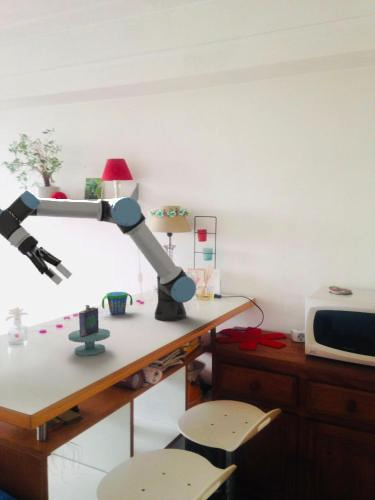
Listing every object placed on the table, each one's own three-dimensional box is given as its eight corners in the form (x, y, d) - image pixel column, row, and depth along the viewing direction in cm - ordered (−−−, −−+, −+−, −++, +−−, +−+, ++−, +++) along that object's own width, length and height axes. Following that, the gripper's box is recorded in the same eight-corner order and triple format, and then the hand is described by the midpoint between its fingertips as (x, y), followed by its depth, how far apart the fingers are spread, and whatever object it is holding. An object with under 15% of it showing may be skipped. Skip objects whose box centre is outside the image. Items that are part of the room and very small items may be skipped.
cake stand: (113, 344, 172) (113, 327, 172) (106, 357, 157) (105, 339, 157) (75, 344, 173) (74, 328, 172) (63, 357, 158) (63, 340, 157)
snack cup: (129, 309, 231) (129, 290, 230) (135, 313, 221) (135, 293, 220) (100, 312, 224) (99, 293, 223) (104, 317, 215) (103, 296, 214)
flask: (83, 337, 160) (82, 308, 159) (77, 336, 161) (75, 307, 160) (100, 331, 168) (99, 303, 167) (94, 330, 169) (93, 302, 168)
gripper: (29, 245, 183) (67, 280, 185) (4, 252, 158) (48, 292, 160) (41, 232, 183) (79, 267, 184) (18, 237, 158) (62, 277, 159)
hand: (65, 279), depth 172 cm, fingers open, 13 cm apart
